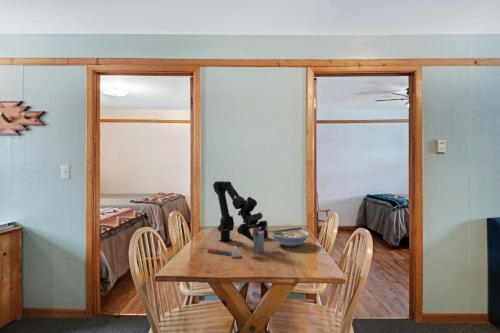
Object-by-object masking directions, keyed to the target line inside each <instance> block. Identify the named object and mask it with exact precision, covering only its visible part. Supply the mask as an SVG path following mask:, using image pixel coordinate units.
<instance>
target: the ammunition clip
mask: <svg viewBox="0 0 500 333" xmlns="http://www.w3.org/2000/svg"><path fill="white" fill-rule="evenodd" d="M265 221H266V222H267V223H268V221H267V219H266V220H265ZM259 222H260V220H258V222H257V223H256V224H259ZM254 230H258V229H257V228H252V233H251V235H252V237H253V239H254ZM265 232H266V239H269V231H268V225H267V226H266V227H265Z"/></svg>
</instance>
